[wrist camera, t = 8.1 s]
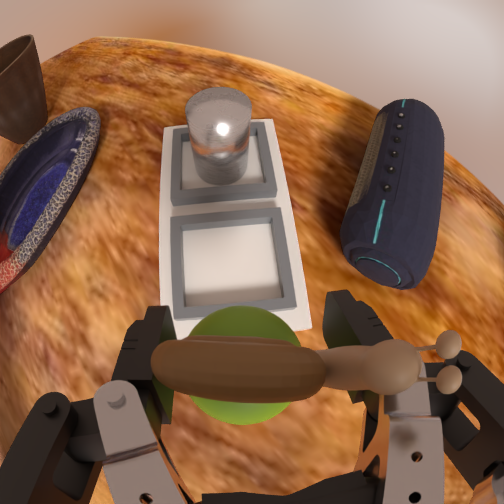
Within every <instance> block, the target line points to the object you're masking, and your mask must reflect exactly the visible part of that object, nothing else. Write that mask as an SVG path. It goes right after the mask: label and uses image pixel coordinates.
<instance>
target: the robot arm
mask: <svg viewBox="0 0 504 504" xmlns="http://www.w3.org/2000/svg"><path fill="white" fill-rule="evenodd" d="M323 336H324V339H325V342H326V344H327V346H328V348H329V349H332V348H336V347H342V346H355V345H361V346H374V345H376V344H377V343H379V342H382V341H385V340H390V339H394V338H393V337H392V336H391V334H390V333H389V331H388V330H387V329H386V327H385V326H384V325H383V323H382V321H381V320H380V319H379V318H378V316H377V315H376V313H375V312H374V310H373V309H372V308H371V307H370V306H368V305H367V304H365V303H364V302H362V301H356V300H355V299H354V298H353V296H352V295H351V293H350V292H349V291H348V290H339V291H331V292H328V293H327V295H326V301H325V310H324V317H323ZM167 340H177V336H176V332H175V328H174V324H173V319H172V315H171V311H170V307H169V306H168V305H163V306H148V308H147V311H146V314H145V318H144V320H136V321H135V322H134V323H133V324H132V325H131V326H130V327H129V328H128V329H127V332H126V335H125V338H124V342H123V344H122V347H121V350H120V353H119V356H118V360H117V363H116V366H115V369H114V372H113V376H112V379H111V381H110V382H108V383H106V384H104V385H102V386H101V387H100V388H99V389H98V390H97V391H96V393H95V395H94V398H91V399H87V400H81V401H76V402H71V403H70V401H69V400H68V398H67V397H66V396H65V395H63V394H62V393H58V392H50V393H47V394H45V395H43V396H41V397H40V398H39V399H38V400H37V401H36V403H35V405H34V406H33V408H32V410H31V411H30V413H29V415H28V416H27V418H26V420H25V422H24V423H23V425H22V427H21V429H20V431H19V432H18V434H17V436H16V438H15V440H14V442H13V443H12V445H11V447H10V449H9V451H8V453H7V455H6V457H5V459H4V461H3V463H2V465H1V467H0V504H89V503H90V500H91V497H92V494H93V491H94V488H95V485H96V482H97V480H98V477H99V474H100V471H101V468H102V466H103V470H104V473H105V477H106V480H107V483H108V486H109V489H110V492H111V495H112V497H113V500H114V503H115V504H444V452H445V454H446V455H447V456H448V457H449V459H450V460H451V461H452V463H453V464H454V465H455V467H456V468H457V469H458V471H459V472H460V473H461V475H462V476H463V477H464V479H465V480H466V481H467V483H468V484H469V485H470V487H471V488H472V489H473V491H474V492H473V497H472V498H471V500H470V503H469V504H504V384H503V383H502V382H501V381H500V380H499V379H498V378H497V377H496V376H495V375H494V374H492V373H491V372H490V371H489V370H488V369H487V368H486V367H485V366H484V365H483V364H482V363H481V362H480V361H479V360H478V359H477V358H476V357H475V356H473V355H472V354H471V353H469V352H467V351H463V350H460V351H459V353H458V354H457V355H456V356H455V357H454V358H452V359H445V361H444V362H440V363H424V362H423V361H422V370H421V373H420V375H419V377H425V378H437V375H438V373H439V372H440V371H441V370H442V369H443V368H444V367H446V366H450V365H453V366H456V367H458V368H459V369H460V371H461V374H462V382H461V385H460V387H459V388H458V390H457V391H455V392H454V393H451V394H444V393H441V392H440V391H439V390H438V388H437V386H436V382H416V383H414V384H413V385H412V386H411V387H410V388H408V389H407V390H405V391H403V392H401V393H398V394H394V395H381V394H378V393H375V392H373V391H371V390H355V391H351V390H347V391H348V394H349V396H350V398H351V401H352V403H353V404H354V403H358V402H362V401H364V403H365V406H366V408H365V410H364V414H363V423H362V432H361V441H360V448H359V455H358V460H357V463H356V465H355V468H354V471H353V472H351V473H347V474H344V475H340V476H336V477H332V478H328V479H324V480H322V481H320V482H318V483H316V484H314V485H311V486H309V487H307V488H305V489H302V490H300V491H297V492H295V493H293V494H290V495H286V496H278V495H265V494H255V493H247V492H234V493H209V494H202V501H201V502H197V503H196V502H195V500H194V498H193V497H192V495H191V493H190V492H189V490H188V488H187V487H186V485H185V484H184V482H183V480H182V478H181V477H180V475H179V473H178V471H177V469H176V467H175V465H174V463H173V461H172V459H171V457H170V455H169V453H168V450H167V448H166V446H165V444H164V442H163V440H162V438H161V436H160V434H161V424H171V418H172V406H173V395H174V390H172V389H170V388H168V387H166V386H165V385H163V384H162V383H161V382H160V381H158V380H157V378H156V377H155V375H154V374H153V372H152V369H151V356H152V353H153V351H154V350H155V348H156V347H157V346H158V345H159V344H161V343H163V342H164V341H167ZM460 402H462V403H463V404H464V405H465V406H466V407H467V408H468V409H469V410H470V412H471V413H472V414H473V415H474V416H475V417H476V418H477V419H478V421H479V423H480V430H478V429H477V428H476V427H475V426H474V425H473V424H472V423H471V421H470V420H469V419H468V418H467V417H466V416H465V415H464V413H463V412H462V411H461V410H460V409H459V408H458V405H459V404H460Z"/></svg>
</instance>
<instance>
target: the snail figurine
mask: <svg viewBox="0 0 504 504" xmlns="http://www.w3.org/2000/svg"><path fill="white" fill-rule="evenodd" d="M431 349H436V352H437V354H438V355H439V356H440V357H441V358H443V359H452V358H454V357H455V356H456V355H457V354H458V353H459V351H460V349H461V338H460V336H459V334H458V333H457V332H456V331H453V330H447V331H444V332H443V333H441V334H440V335H439V337H438V338H437V341H436V345H431V346H424V347H414V346H413V345H412V344H410V343H408V342H406V341H403V340H399V339H390V340H385V341H382V342H379V343H377V344H376V345H374V346H361V345H355V346H342V347H336V348H332V349H326V350H317V351H313V350H311V349H309V348H305V347H301V345H300V342H299V340H298V338H297V336H296V335H295V333H294V332H293V330H292V329H291V328H290V327H289V325H288V324H287V323H286V322H284V321H283V320H282V319H281V318H280V317H278V316H277V315H275V314H273V313H271V312H269V311H267V310H265V309H262V308H259V307H254V306H246V305H238V306H230V307H226V308H222V309H219V310H217V311H215V312H213V313H211V314H209V315H208V316H206V317H205V318H203V319H202V320H201V321H200V322H199V323H198V324H197V325H196V326H195V327H194V328H193V329H192V331H191V332H190V334H189V335H188V337H185V338H183V339H182V340H179V339H178V340H167V341H164V342H163V343H161V344H159V345H158V346H157V347H156V348H155V350H154V351H153V353H152V356H151V369H152V372H153V374H154V375H155V377H156V378H157V380H158V381H160V382H161V383H162V384H163V385H165V386H166V387H168V388H170V389H172V390H174V391H177V392H180V393H183V394H187V395H189V396H190V397H191V399H192V400H193V401H194V402H195V404H196V405H197V406H198V407H199V408H200V409H201V410H203V411H204V412H205V413H207V414H208V415H210V416H211V417H213V418H215V419H218V420H220V421H223V422H226V423H231V424H238V425H247V424H255V423H259V422H263V421H266V420H268V419H270V418H272V417H274V416H276V415H277V414H279V413H280V412H282V411H283V410H284V409H285V408H286V407H287V406H288V405H289V404H290V403H291V402H293V401H299V400H304V399H307V398H309V397H311V396H313V395H314V394H316V393H317V392H318V391H319V390H320V389H321V387H322V386H323V387H329V388H333V389H339V390H351V391H355V390H371V391H373V392H375V393H378V394H381V395H394V394H398V393H401V392H403V391H405V390H407V389H408V388H410V387H411V386H412V385H413V384H414V383H416V382H436V386H437V388H438V390H439V391H440V392H441V393H444V394H451V393H454V392H455V391H457V390H458V388H459V387H460V385H461V382H462V374H461V371H460V369H459V368H458V367H456V366H453V365H450V366H446V367H444V368H443V369H442V370H441V371H440V372H439V373H438V375H437V378H425V377H419V375H420V373H421V370H422V358H421V355H420V353H419V352H420V351H425V350H431Z"/></svg>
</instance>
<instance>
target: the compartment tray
mask: <svg viewBox="0 0 504 504" xmlns="http://www.w3.org/2000/svg"><path fill="white" fill-rule="evenodd" d="M159 275H160V302H161V306H163V305H168V306H169V307H170V311H171V315H172V319H173V324H174V328H175V332H176V336H177V340H178V339H179V340H182V339H183V338H185V337H188V335H189V334H190V332H191V331H192V329H193V328H194V327H195V326H196V325H197V324H198V323H199V322H200V321H201V320H202V319H203V318H205V317H206V316H208V315H209V314H211V313H213V312H215V311H217V310H219V309H222V308H226V307H230V306H238V305H246V306H254V307H259V308H262V309H265V310H267V311H269V312H271V313H273V314H275V315H277V316H278V317H280V318H281V319H282V320H283V321H284V322H286V323H287V324H288V325H289V327H290V328H291V329H292V330H293V332H294V331H301V330H308V329H311V328H312V323H311V317H310V310H309V303H308V297H307V291H306V285H305V279H304V273H303V267H302V261H301V255H300V250H299V244H298V239H297V233H296V228H295V223H294V217H293V212H292V207H291V202H290V197H289V192H288V187H287V182H286V177H285V173H284V168H283V163H282V159H281V154H280V150H279V145H278V141H277V136H276V132H275V128H274V123H273V119H253V120H251V124H250V138H249V153H248V166H247V170H246V172H245V174H244V175H243V177H242V178H240V179H239V180H238V181H236V182H234V183H232V184H229V185H223V186H217V185H212V184H209V183H206V182H205V181H203V180H202V179H201V178H200V177H199V176H198V174H197V172H196V169H195V164H194V159H193V153H192V148H191V142H190V137H189V131H188V125H180V126H172V127H165V128H164V135H163V148H162V162H161V180H160V207H159Z"/></svg>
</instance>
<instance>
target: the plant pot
mask: <svg viewBox="0 0 504 504" xmlns="http://www.w3.org/2000/svg"><path fill="white" fill-rule="evenodd" d="M47 118H48V116H47V105H46V96H45V89H44V83H43V77H42V72H41V67H40V62H39V57H38V53H37V49H36V45H35V42H34V37H33V35H24V36H21V37H19V38H17V39H15V40H13V41H11V42H9V43H8V44H6V45H4V46H3V47H1V48H0V136H2V137H4V138H6V139H8V140H10V141H13V142H15V143H17V144H24V143H27V142H28V140H30V139H31V138H32V137H33V136H34V135H35V134H36V133H37V132H38V131H39V130H41V129H42V128H43V127H44V126H45V124H46V122H47Z"/></svg>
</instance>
